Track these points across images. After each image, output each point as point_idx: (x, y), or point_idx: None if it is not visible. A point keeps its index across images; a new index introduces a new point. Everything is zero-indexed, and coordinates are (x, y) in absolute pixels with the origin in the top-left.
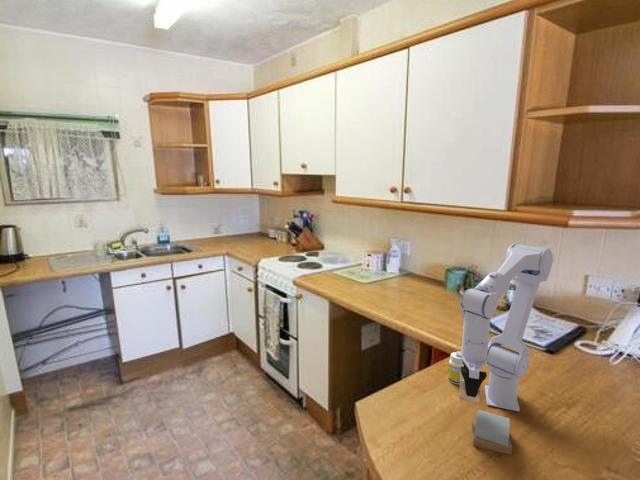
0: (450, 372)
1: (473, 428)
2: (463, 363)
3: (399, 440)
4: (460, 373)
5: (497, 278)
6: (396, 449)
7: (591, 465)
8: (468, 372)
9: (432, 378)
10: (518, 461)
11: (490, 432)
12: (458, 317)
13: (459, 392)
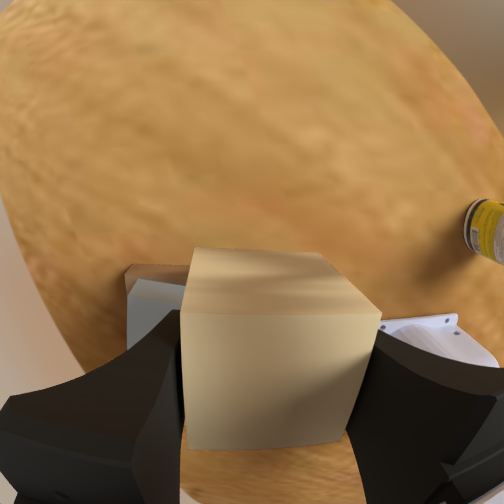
0: (498, 210)
1: (183, 277)
2: (430, 383)
3: (83, 24)
4: (492, 248)
5: None
6: (46, 30)
7: (191, 477)
8: (15, 489)
9: (478, 143)
10: None
11: (127, 344)
12: None
13: (270, 252)
